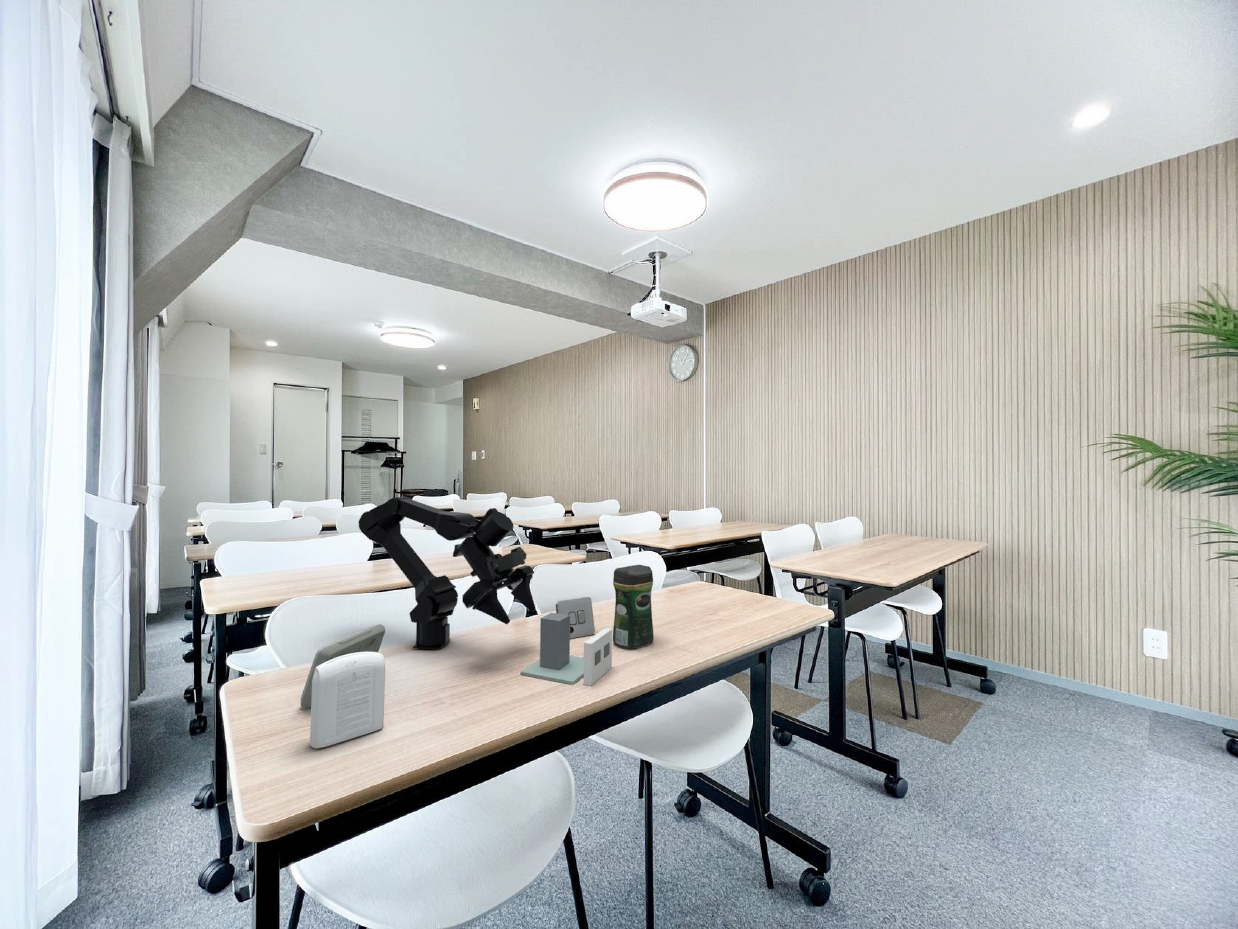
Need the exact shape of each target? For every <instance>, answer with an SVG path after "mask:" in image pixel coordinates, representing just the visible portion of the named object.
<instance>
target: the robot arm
mask: <svg viewBox="0 0 1238 929" xmlns="http://www.w3.org/2000/svg"><path fill="white" fill-rule="evenodd" d="M405 518H407V519H409V520H412V521H414V522H417V523H420V524H422V525H424V526H427V527H431V528H432V529H433V530H434V531H435V533H436V534H438V535H439V536H440V537H442V538H443V539H444V540H447V541H450V542H451V541H457V540H462V542H461V543H458V544H457V543H456V544H454V549H453V552H452V557H453V558H457V557H463V558H464V559H465V560H466V562H467V564H468V565H469V566H470V568H471V570H472V571H471V572H470V575H471V577H472V578H473V577H477V578H478V581H475V582H474V583H473V584H472V585H471V586H470V587H469V588H468V589H467V590H466V591H465V592H464V593H463V594H462V599H461V600H462V603H463V604H464V607H465V608H466V609H467V610H468V609H470V608H472V610H476V611H479V612H481V613H483V614H486V615H488V616H490V617H492V618H494V619H495V620H498V621H499V622H501V623H503V624H505V625H509V623H510V622H511V619H510V616H509V615H508V614H507V612H506V610H505V609H504V607H503V605H502V603H500V600H499V598H498V590H500V589H501V590H502V589H504V588H507V589H508V590H510V595H512V596H513V597H514V598H515V599H516V600H517V601H519V602H520V603H521V604H522V605H523V606H524V607H525V608H527V609H528V610H529V611H530V612H531V613H533V612H534V611H535V610H536V604H535V601H534V598H533V594H532V590H531V587H530V586H531V580H532V579H533V575H534V574H535V571H534V570H533V568H532V567H531V565H526V562H525V561H526V559H527V552H525V550H524V549H523V548H522V547H521V546H518V547H515V548H513V549H510V553H507V554H505V555H502V554H501V553H495V552H494V551H493V550H492V548H491V547H497V546H498V545H499V544H500V543H501V542H502V541H503V540H504V539H505V538H506V537H507V535H509V534H510V533H511V532H512V530H513V529H514V527H515V526H514V523H513V521H512V520H511V518H510V517H508V515H506V514H504V513H503V512H501V511H498V509H497V508H495V507H493V508H491V507H490V508H489V509H487V511H486V512H485V514H484V515H483V517H481V519H477V518H476V516H474V515H473V514H471V513H469V512H467V513H466V512H458V511H445V510H442V509H439V508H437V507H433V506H431V505H429V504H425V503H422V502H419V501H417V500H414V499H412V498H410V497H408V496H393V497H392V498H389V499H388V500H387V501H385V502H384V503H382V504H380V505H377V506H376V507H373V508H371V509H370V510H368V511H364V512H363V513H362V514H361V515H360V518H359V520H358V529H359V530H360V532H361V533H362V534H363V535H364V536H365V537H366V538H367V539H368V540H370V541H371V542H373V543H374V542H375V543H377V544H379V545H381V546H382V547H383V548H384V550H385V551H386V553H387V554H388V555H389V557H390V558H391V559H392V560H393V561H394V562H395V564H396V565H397V567H398V569H400V571H401V572H402V573H403V574H404V576H405V577H406V579H407V580H408V581H409V582H410V584H411V585H412V586H413V588H414V596H415V597H414V598H415V602H416V604H417V605H415V606H414V607H413V609H412V610H411V611H410V612H409V617H410V622H411V623H415V624H416V625H415V626H416V628H415V629H416V631H415V633H416V634H415V635H416V636H415V637H416V638H415V644H414V645H413V646H412V649H413V648H423V649H422V650H438V651H439V650H441V649H442V648H444V647H445V646H446V645H447V644H448V643H449V642H450V641H451V637H450V636H451V634H450V633H451V632H450V629H451V627H450V623H449V616H453V614H454V612H455V608H456V607H457V604H458V597H459V594H458V591H457V590H456V587H457V586H456V585H454V584H453V583H452V582H451V580H450V578H449V577H448V576H447V575H445V574H444V575H440V576H436V575H435V574H433V572H432V571H431V570H430V569H429V567H428V566H427V565H426V564H425V562H424V561H423V560H422V558H421V557H420V556H419V555H418V554H417V552H416V551H415V549H414V548H413V547H412V546H411V545H410V543H409V542H408V541H407V539H406V538H405V537H404V535H403V534H402V532H401V529H402V528H401V522H403V521H404V519H405ZM463 539H464V540H463ZM520 565H521V566H520ZM522 565H523V566H522ZM518 566H520V567H518ZM515 567H516V568H515ZM514 568H515V569H514Z"/></svg>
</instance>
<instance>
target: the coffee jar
mask: <svg viewBox="0 0 1238 929" xmlns="http://www.w3.org/2000/svg"><path fill="white" fill-rule="evenodd" d="M612 584H613V587H614V592H615V604H614V605H615V606H614V618H613V626H612V627H613V628H612V643H614V644H615V645H616V646H618V647H620V648H624V649H638V648H641V647H644V646H647V645H649V644H652V643H653V641H654V625H653V612H652V611H653V610H652V589H653V585H654V576H653V570H652V568H651V567H650V566H649V565H648V566H647V565H645V564H634V565H627V566H622V567H617V568H615V569H614V571H613V581H612Z"/></svg>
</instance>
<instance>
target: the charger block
mask: <svg viewBox="0 0 1238 929" xmlns="http://www.w3.org/2000/svg"><path fill="white" fill-rule="evenodd" d="M539 623H540V625H539V626H540V629H539V630H540V632H539V633H540V634H539V635H540V636H539V639H540V641H539V645H540V646H539V659H540V667H543V668H549V669H554V670H560V669H562V668H563V667H564V666H566V665H567V664H568V663H570V656H571V653H570V651H571V650H570V645H571V644H570V643H571V642H570V641H571V639H570V615H565V614H557V613H556V612H550V613H549V614H546V615H544V616H543V617H540V622H539Z"/></svg>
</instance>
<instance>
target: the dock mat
mask: <svg viewBox="0 0 1238 929" xmlns="http://www.w3.org/2000/svg"><path fill="white" fill-rule="evenodd" d="M519 674H520V675H521V676H524V677H531V678H534V679H540V680H541V679H542V680H547V681H551V682H556V683H561V684H567V685H572V686H574V685H575V684H576V683H578V682H579V681H580V680H581V679H582V678H584V657H581V656H577V655H576V656H574V655H570V663H568V664H567V665H566V666H564V667H563V668H562V669H560V670H554V669H549V668H543V667H540V658H539V659H538V660H536V661H535V662H533V663H532V664H530V665H529V666H526V668H525V667H524V669H522V670H521V671H520V673H519Z"/></svg>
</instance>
